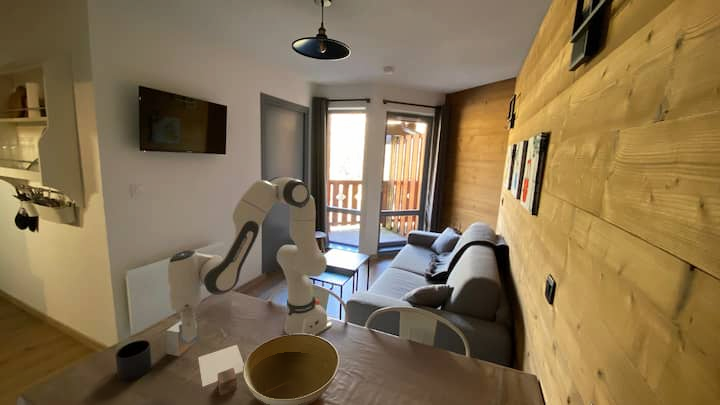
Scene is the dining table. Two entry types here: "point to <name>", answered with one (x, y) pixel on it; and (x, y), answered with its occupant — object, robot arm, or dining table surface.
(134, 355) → the mug
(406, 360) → the dining table surface
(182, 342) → the cube
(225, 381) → the block
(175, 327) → the small box
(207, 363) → the cream flat square panel
